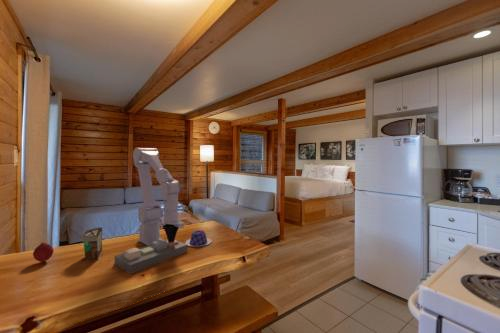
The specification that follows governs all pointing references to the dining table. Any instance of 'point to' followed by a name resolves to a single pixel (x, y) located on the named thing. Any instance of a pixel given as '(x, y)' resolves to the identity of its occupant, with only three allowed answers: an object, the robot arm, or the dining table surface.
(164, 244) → the key slate
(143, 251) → the key sage
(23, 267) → the dining table surface
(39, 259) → the onion
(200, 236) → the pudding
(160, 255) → the keypad board
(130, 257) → the key ivory
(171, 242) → the key terracotta
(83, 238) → the food container
